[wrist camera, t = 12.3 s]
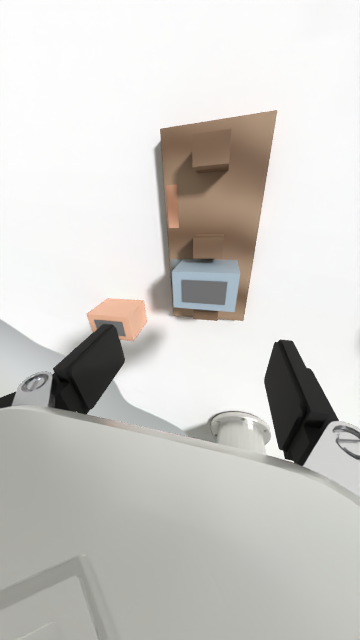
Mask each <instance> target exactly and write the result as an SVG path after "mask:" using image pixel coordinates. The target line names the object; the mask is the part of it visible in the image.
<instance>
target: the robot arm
mask: <svg viewBox="0 0 360 640" xmlns="http://www.w3.org/2000/svg"><path fill="white" fill-rule="evenodd" d="M124 361H125V358H124V354H123V351H122V347H121V343H120V339H119V336H118V332H117V329H116V327H114V325H112V324H102V325H101V326H100V327H99V328H98V329H97V330H96V331H95V332H93V333H92V334H91V335H90V336H89V337H88V338H87V339H86V340H84V341H83V342H82V343H81V344H80V345H79V346H78V347H77V348H75V349H74V350H73V351H72V352H71V353H70V354H69V355H68V356H67V357H65V358H64V359H63V360H62V361H61V362H60V363H59V364H58V365H56V366H55V367H54V368H53V370H54V372H55V373H54V374H51V373H50V372H47V371H45V372H39V373H36V374H33V375H31V376H30V377H28V378H26V379H25V380H24V381H23V382H22V383H21V384H20V385H19V387H18V388H17V391H16V392H14V393H11V394H9V395H6V396H4V397H1V398H0V640H360V429H359V428H358V427H356V426H354V425H352V424H349V423H346V422H342V421H339V420H338V418H337V416H336V414H335V412H334V411H333V409H332V407H331V405H330V403H329V401H328V399H327V398H326V396H325V394H324V392H323V390H322V388H321V386H320V384H319V383H318V381H317V379H316V377H315V375H314V373H313V372H312V370H311V369H309V368H306V366H305V364H304V362H303V360H302V358H301V356H300V354H299V352H298V351H297V349H296V347H295V345H294V343H293V341H289V340H279V341H278V342H275V343H274V346H273V350H272V353H271V357H270V360H269V364H268V367H267V371H266V375H265V379H264V383H265V388H266V392H267V397H268V402H269V406H270V411H271V415H272V420H273V425H274V429H275V434H276V438H277V443H278V447H279V449H280V450H283V452H284V456H285V459H288V460H292V461H294V463H292V462H289V461H285V460H282V459H279V458H275V457H272V456H268V455H266V451H265V445H266V444H267V443H268V442H269V440H270V438H271V433H270V429H269V427H268V425H267V424H266V423H265V422H264V421H262V420H261V419H259V418H258V417H255V416H253V415H250V414H247V413H242V412H226V413H222V414H219V415H217V416H216V417H214V418H213V420H212V422H211V432H212V433H213V435H214V436H215V437H216V438H217V443H213V442H209V441H204V440H200V439H195V438H191V437H187V436H182V435H178V434H173V433H169V432H164V431H159V430H155V429H151V428H146V427H141V426H136V425H132V424H127V423H123V422H118V421H114V420H109V419H104V418H100V417H95V416H90V415H86V414H87V413H88V412H89V410H90V409H92V408H93V407H94V406H95V404H96V403H97V401H98V400H99V399H100V397H101V396H102V394H103V393H104V391H105V390H106V389H107V387H108V385H109V384H110V383H111V381H112V380H113V378H114V377H115V375H116V374H117V373H118V371H119V370H120V368H121V367H122V365H123V364H124ZM76 411H77V412H76Z"/></svg>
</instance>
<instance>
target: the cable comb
mask: <svg viewBox="0 0 360 640" xmlns="http://www.w3.org/2000/svg"><path fill="white" fill-rule="evenodd" d="M276 115H277V110H275V111H269V112H263V113H256V114H250V115H244V116H238V117H231V118H225V119H219V120H213V121H207V122H200V123H194V124H188V125H182V126H175V127H169V128H163V129H160V134H161V147H162V161H163V175H164V189H165V202H166V216H167V230H168V243H169V257H170V271H171V284H172V271H173V269H174V268H175V267H176V266H177V265H178V264H179V263H180V262H181V261H182V260H183V259H212V260H238V265H239V270H240V279H239V286H238V293H237V299H236V306H235V312H226V311H214V310H201V309H189V308H176V307H174V304H173V312H174V316H185V317H194V319H202V320H215V321H217V320H218V319H227V320H240V321H243V320H244V314H245V308H246V301H247V295H248V289H249V283H250V277H251V270H252V264H253V258H254V252H255V245H256V239H257V233H258V227H259V221H260V214H261V208H262V202H263V196H264V189H265V183H266V177H267V171H268V165H269V158H270V152H271V146H272V140H273V133H274V127H275V121H276ZM172 298H173V284H172Z"/></svg>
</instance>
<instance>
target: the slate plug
mask: <svg viewBox="0 0 360 640" xmlns="http://www.w3.org/2000/svg"><path fill="white" fill-rule="evenodd" d="M239 279H240V270H239V265H238V260H212V259H183V260H182V261H181V262H180V263H179V264H178V265H177V266H176V267H175V268H174V269H173V271H172V284H173V304H174V307H176V308H189V309H201V310H214V311H226V312H235V306H236V299H237V293H238V286H239Z"/></svg>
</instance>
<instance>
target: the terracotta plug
mask: <svg viewBox="0 0 360 640" xmlns="http://www.w3.org/2000/svg"><path fill="white" fill-rule="evenodd" d="M87 317H88V320H89V323H90V325H91V328H92V331H93V332H95V331H96V330H97V329H98V328H99V327H100V326H101V325H102V324H112V325H114V327H116V329H117V332H118V336H119V339H120V340H128V341H134V340H135V338H136V337H137V335H138V334H139V333H140V331H141V330H142V328H143V327H144V326H145V324H146V323H147V317H146V311H145V305H144V300H126V299H106V300H105V301H104V302H102V303H101V304H99V305H98V306H97V307H95V308H94V309H93V310H91V311H90V312H89V313H87Z"/></svg>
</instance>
